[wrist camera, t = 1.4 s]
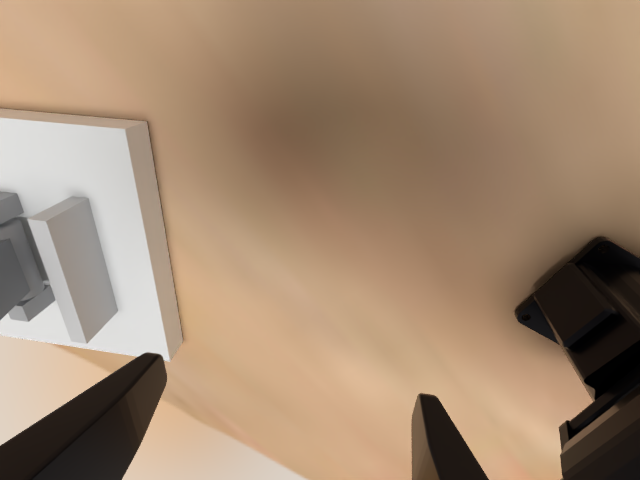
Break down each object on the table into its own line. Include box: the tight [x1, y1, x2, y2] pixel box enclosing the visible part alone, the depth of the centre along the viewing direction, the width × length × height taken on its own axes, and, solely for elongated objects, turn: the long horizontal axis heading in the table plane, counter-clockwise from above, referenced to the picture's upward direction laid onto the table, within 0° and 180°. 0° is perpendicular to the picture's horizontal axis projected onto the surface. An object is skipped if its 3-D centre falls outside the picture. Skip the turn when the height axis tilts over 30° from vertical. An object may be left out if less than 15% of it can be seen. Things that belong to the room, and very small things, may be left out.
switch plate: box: [0, 108, 183, 361], centre depth 23 cm, size 16×16×5 cm
